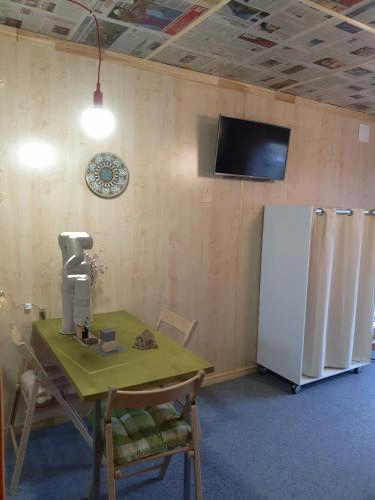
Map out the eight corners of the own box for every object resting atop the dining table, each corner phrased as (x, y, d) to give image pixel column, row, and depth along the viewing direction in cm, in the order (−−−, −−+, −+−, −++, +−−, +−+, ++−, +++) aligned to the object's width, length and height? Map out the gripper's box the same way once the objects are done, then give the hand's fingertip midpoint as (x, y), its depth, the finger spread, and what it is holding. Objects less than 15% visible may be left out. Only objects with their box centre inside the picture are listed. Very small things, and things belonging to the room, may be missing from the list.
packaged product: (73, 330, 216) (89, 327, 222) (73, 338, 216) (89, 335, 222) (83, 340, 201) (101, 337, 207) (83, 349, 202) (101, 345, 207)
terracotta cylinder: (74, 336, 192) (75, 325, 192) (85, 334, 196) (85, 323, 195) (79, 340, 188) (79, 328, 187) (89, 337, 192) (90, 326, 191)
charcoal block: (99, 339, 199) (99, 329, 198) (109, 336, 203) (109, 327, 202) (105, 342, 195) (105, 333, 194) (115, 340, 198) (115, 330, 198)
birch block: (98, 348, 200) (98, 339, 199) (110, 345, 204) (110, 336, 204) (104, 352, 194) (104, 342, 194) (116, 349, 199) (116, 340, 198)
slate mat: (88, 348, 201) (88, 347, 201) (111, 343, 210) (111, 341, 210) (102, 358, 189) (102, 356, 189) (126, 352, 198) (126, 350, 198)
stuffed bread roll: (144, 341, 215) (145, 324, 214) (160, 345, 210) (161, 328, 209) (128, 348, 203) (128, 330, 202) (145, 353, 198) (145, 334, 197)
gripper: (68, 299, 194) (68, 333, 196) (83, 307, 181) (82, 343, 183) (82, 297, 198) (81, 330, 201) (97, 305, 186) (97, 340, 188)
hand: (82, 336), depth 192 cm, fingers closed on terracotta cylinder, 5 cm apart
